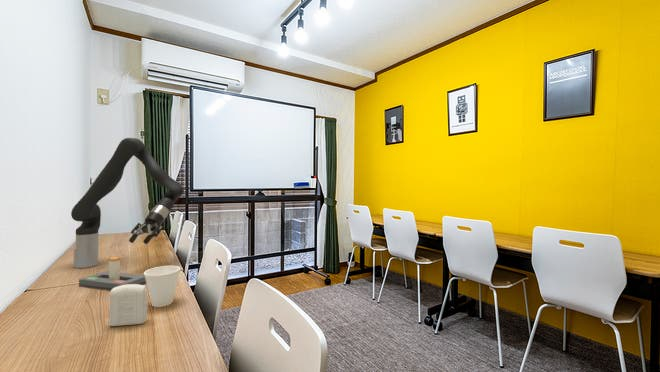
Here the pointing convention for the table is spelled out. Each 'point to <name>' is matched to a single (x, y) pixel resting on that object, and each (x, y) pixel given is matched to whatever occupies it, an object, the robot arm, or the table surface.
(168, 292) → the cup
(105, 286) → the slotted lever switch base
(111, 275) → the handle
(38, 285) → the table surface
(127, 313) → the photo printer
